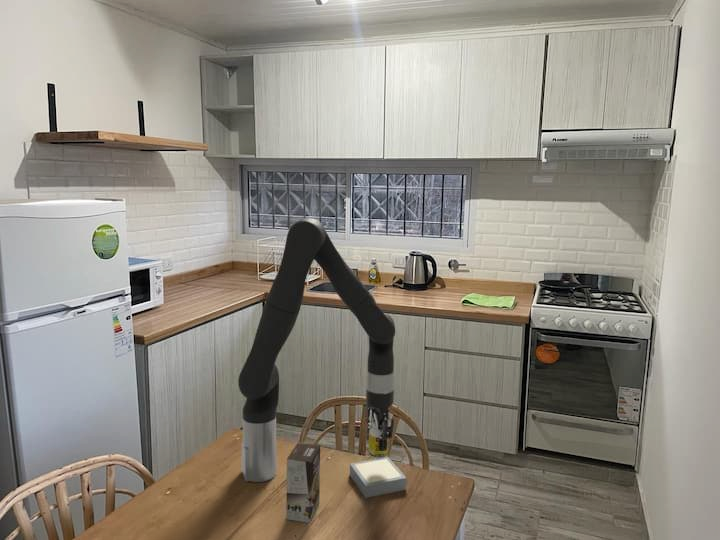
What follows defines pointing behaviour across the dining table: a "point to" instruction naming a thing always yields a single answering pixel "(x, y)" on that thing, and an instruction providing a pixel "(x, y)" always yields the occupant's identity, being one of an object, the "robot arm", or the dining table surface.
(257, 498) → the dining table surface
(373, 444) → the supplement bottle
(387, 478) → the block
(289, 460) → the coffee box
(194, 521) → the dining table surface
